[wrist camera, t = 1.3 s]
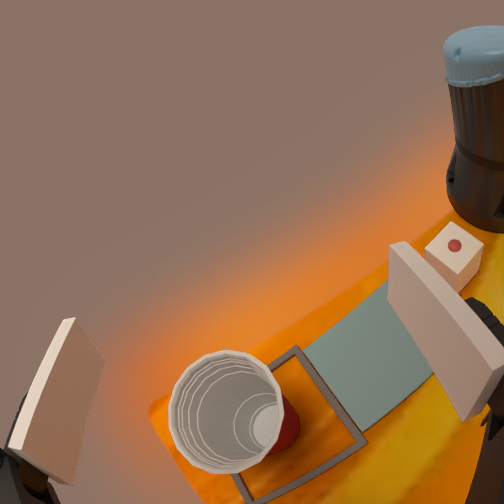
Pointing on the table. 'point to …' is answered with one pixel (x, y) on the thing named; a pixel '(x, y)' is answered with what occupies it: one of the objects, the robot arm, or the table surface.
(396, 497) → the table surface
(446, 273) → the die
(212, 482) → the table surface
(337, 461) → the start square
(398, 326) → the pad
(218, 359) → the plastic cup
